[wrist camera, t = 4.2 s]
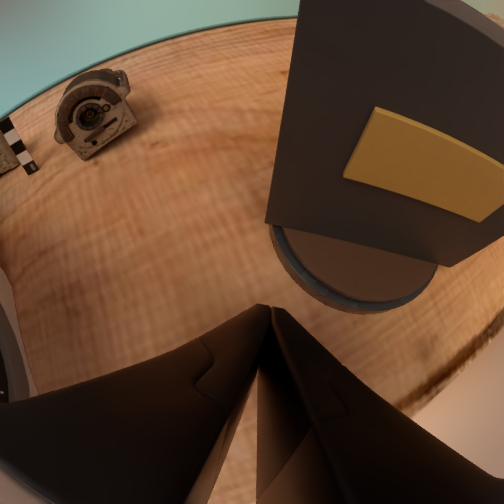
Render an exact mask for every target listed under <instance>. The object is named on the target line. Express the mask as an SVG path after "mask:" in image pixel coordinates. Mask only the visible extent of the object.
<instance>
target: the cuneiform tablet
mask: <svg viewBox="0 0 504 504" xmlns="http://www.w3.org/2000/svg"><path fill="white" fill-rule="evenodd" d="M19 162H20V163H21V165H22V166H23V168H24V169H25V171H26V172H27V174H28V175H30V174H32V173H34V172H36V171H38V170H39V168H38V167H37V165H36V164H35V162H34V160H33V159H32V157H31V155H30V154H29V152H28V150H27V149H26V147H25V145H24V144H23V142H22V140H21V138H20V137H19V135H18V133H17V131H16V129H15V127H14V126H13V124H12V122H11V120H10V118H9V116H8V117H7V118H5V119H4V120H2V121H0V174H2V173H4V172H6V171H7V170H9V169H12V168H14V167H16V166H17V165H18V164H19Z"/></svg>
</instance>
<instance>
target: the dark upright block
mask: <svg viewBox="0 0 504 504" xmlns="http://www.w3.org/2000/svg"><path fill="white" fill-rule="evenodd" d="M265 223H268V224H272V225H277V226H282V229H283V232H284V235H285V237H286V240H287V242H288V244H289V246H290V248H291V249H292V251H293V253H294V254H295V256H296V257H297V259H298V260H299V261H300V262H301V264H302V265H303V266H304V267H305V269H307V270H308V271H309V272H310V273H311V274H312V275H313V276H314V277H315V278H316V279H317V280H319V281H320V282H321V283H323V284H324V285H325V286H327V287H328V288H330V289H332V290H334V291H335V292H337V293H339V294H342V295H344V296H346V297H349V298H352V299H356V300H359V301H365V302H374V303H375V302H388V301H393V300H397V299H400V298H403V297H405V296H407V295H409V294H411V293H413V292H415V291H416V290H418V289H419V288H420V287H421V286H422V285H424V284H425V283H426V282H427V280H428V279H429V278H430V277H431V275H432V274H433V272H434V270H435V269H436V267H437V264H439V265H443V266H446V267H452V266H454V265H455V264H457V263H459V262H461V261H463V260H464V259H466V258H468V257H469V256H471V255H473V254H475V253H476V252H478V251H480V250H481V249H483V248H485V247H486V246H488V245H490V244H491V243H493V242H494V241H496V240H498V239H499V238H501V237H502V236H504V29H503V28H502V27H501V26H499V25H498V24H496V23H495V22H494V21H492V20H491V19H489V18H488V17H486V16H485V15H483V14H482V13H480V12H479V11H477V10H476V9H474V8H473V7H471V6H469V5H468V4H466V3H464V2H463V1H461V0H300V5H299V12H298V18H297V24H296V31H295V38H294V44H293V51H292V57H291V63H290V70H289V76H288V83H287V89H286V95H285V102H284V108H283V114H282V120H281V126H280V133H279V139H278V145H277V151H276V157H275V163H274V170H273V176H272V182H271V188H270V194H269V200H268V206H267V212H266V218H265Z"/></svg>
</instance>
